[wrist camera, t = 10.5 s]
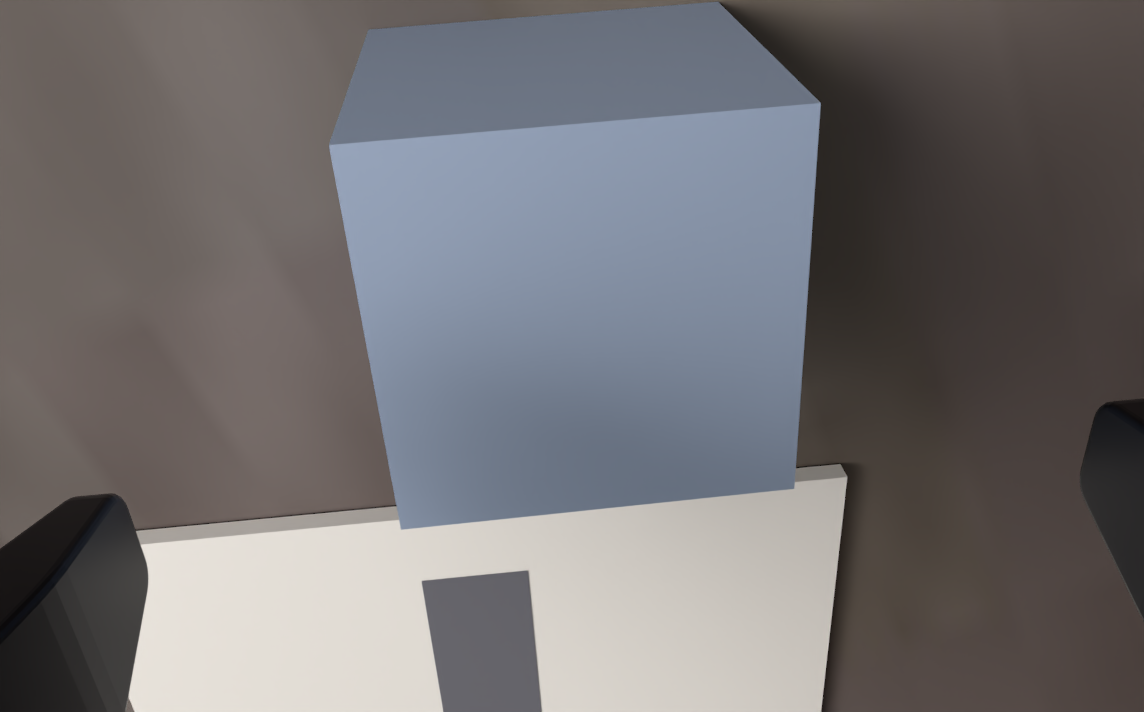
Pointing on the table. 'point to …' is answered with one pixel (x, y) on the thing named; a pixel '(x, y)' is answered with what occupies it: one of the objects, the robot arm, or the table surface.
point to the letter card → (499, 609)
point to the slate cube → (579, 258)
